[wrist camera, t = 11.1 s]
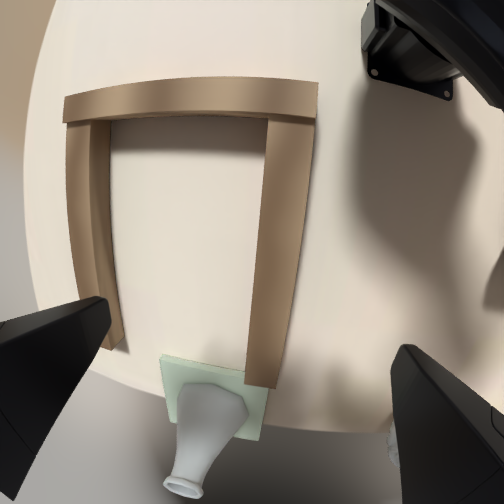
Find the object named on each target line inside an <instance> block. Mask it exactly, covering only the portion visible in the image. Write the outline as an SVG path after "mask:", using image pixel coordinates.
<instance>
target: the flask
mask: <svg viewBox="0 0 504 504" xmlns="http://www.w3.org/2000/svg"><path fill="white" fill-rule="evenodd" d="M248 416H249V413H248V411H247V408H246V406H245V403H244V401H243V398H242V396H239V395H237V394H234V393H232V392H230V391H227V390H225V389H222V388H220V387H218V386H216V385H213V384H183V387H182V389H181V391H180V393H179V396H178V398H177V452H176V458H175V463H174V468H173V470H172V473H171V475H170V476H168V477H167V478H166V480H165V481H164V483H163V485H164V486H165V487H166V488H167V489H168V490H170V491H172V492H174V493H177V494H179V495H182V496H185V497H190V498H196V499H198V498H200V497H201V496H202V495H203V490H202V489H201V487H202V483H203V480H204V478H205V475H206V473H207V471H208V470H209V468H210V466H211V465H212V463H213V461H214V459H215V458H216V457H217V456H218V454H219V453H220V452H221V451H222V449H223V448H224V447H225V445H226V444H227V443H228V442H229V440H230V439H231V438H232V437H233V435H234V434H235V433H236V432H237V431H238V429H239V428H240V427H241V426H242V424H243V423H244V422H245V420H246V419H247V418H248Z"/></svg>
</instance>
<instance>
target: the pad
mask: <svg viewBox="0 0 504 504" xmlns="http://www.w3.org/2000/svg"><path fill="white" fill-rule="evenodd" d="M159 361H160V368H161V374H162V380H163V386H164V392H165V397H166V402H167V408H168V413H169V418H170V421H171V422H173V423H177V398H178V396H179V393H180V391H181V389H182V387H183V384H213V385H216V386H218V387H220V388H222V389H225V390H227V391H230V392H232V393H234V394H237V395H239V396H242V398H243V401H244V403H245V406H246V408H247V411H248V413H249V416H248V418H247V419H246V420H245V422H244V423H243V424H242V426H241V427H240V428H239V429H238V431H237V432H236V433H235V434H234V435H233V437H237V438H243V439H249V440H255V441H259V436H260V431H261V426H262V421H263V416H264V411H265V406H266V401H267V396H268V390H269V388H263V387H257V386H251V385H245V384H244V377H245V372H243V371H238V370H232V369H227V368H222V367H217V366H212V365H207V364H202V363H198V362H193V361H189V360H184V359H180V358H176V357H172V356H168V355H164V354H162V356H161V357H160V359H159Z"/></svg>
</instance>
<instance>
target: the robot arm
mask: <svg viewBox="0 0 504 504" xmlns="http://www.w3.org/2000/svg"><path fill="white" fill-rule="evenodd" d="M361 48H362V49H363V50H364V51H366V52H368V64H367V72H368V75H369V76H370V77H371V78H373V79H376V80H380V81H384V82H388V83H392V84H396V85H400V86H403V87H407V88H410V89H414V90H417V91H420V92H423V93H427V94H430V95H433V96H436V97H438V98H441V99H444V100H447V101H450V100H452V97H453V80H454V79H456V78H459V77H462V76H464V77H465V78H466V79H467V80H468V81H469V82H470V83H471V84H472V85H473V86H474V87H475V89H476V90H477V91H478V92H479V93H480V94H481V95H482V97H483V98H484V99H485V100H486V101H487V103H488V104H489V105H491V106H493V107H496V108H498V109H501V110H502V111H503V112H504V0H370V2H369V3H368V4H367V9H366V11H365V13H364V15H363V17H362V19H361ZM372 69H376V70H377V71H378V75H377V76H374V75H372V74H371V70H372ZM444 91H448V92H449V93H450V97H446V96H445V95H444ZM111 324H112V318H111V313H110V307H109V302H108V300H107V299H106V298H104V297H101V296H92V297H89V298H85V299H82V300H78V301H74V302H71V303H67V304H64V305H60V306H57V307H53V308H50V309H46V310H42V311H39V312H36V313H32V314H28V315H25V316H21V317H17V318H14V319H10V320H7V321H3V322H0V492H2V493H3V494H4V495H6V496H7V497H8V498H9V499H11V500H12V501H14V500H15V498H16V496H17V494H18V492H19V490H20V488H21V485H22V483H23V481H24V479H25V477H26V475H27V473H28V471H29V469H30V467H31V465H32V463H33V461H34V459H35V458H36V455H37V453H38V452H39V449H40V448H41V446H42V444H43V442H44V441H45V439H46V437H47V435H48V433H49V432H50V430H51V428H52V426H53V425H54V423H55V421H56V419H57V418H58V416H59V414H60V413H61V411H62V409H63V407H64V406H65V404H66V403H67V401H68V399H69V398H70V396H71V394H72V393H73V391H74V390H75V388H76V386H77V385H78V383H79V382H80V380H81V378H82V377H83V375H84V374H85V372H86V371H87V369H88V368H89V366H90V364H91V363H92V361H93V359H94V357H95V356H96V354H97V352H98V350H99V348H100V346H101V344H102V342H103V340H104V338H105V337H106V335H107V333H108V331H109V329H110V327H111ZM390 374H391V387H392V403H393V417H394V424H395V431H396V438H397V446H398V454H399V464H400V474H401V486H402V504H504V415H503V414H502V413H500V412H499V411H498V410H497V409H496V408H494V407H493V406H491V405H490V404H489V403H488V402H487V401H486V400H484V399H483V398H482V397H481V396H479V395H478V394H477V393H476V392H474V391H473V390H472V389H471V388H469V387H468V386H467V385H466V384H464V383H463V382H462V381H461V380H459V379H458V378H457V377H455V376H454V375H453V374H452V373H450V372H449V371H448V370H447V369H445V368H444V367H443V366H441V365H440V364H439V363H438V362H436V361H435V360H434V359H432V358H431V357H430V356H429V355H427V354H426V353H425V352H423V351H422V350H421V349H419V348H418V347H417V346H415V345H413V344H403V345H401V346H400V348H399V350H398V352H397V354H396V357H395V359H394V361H393V363H392V366H391V371H390Z"/></svg>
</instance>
